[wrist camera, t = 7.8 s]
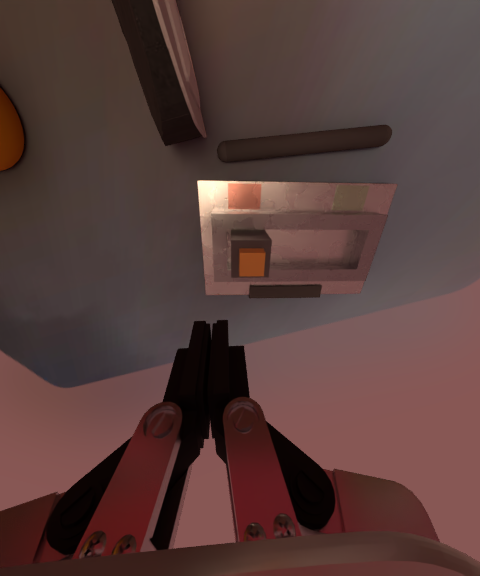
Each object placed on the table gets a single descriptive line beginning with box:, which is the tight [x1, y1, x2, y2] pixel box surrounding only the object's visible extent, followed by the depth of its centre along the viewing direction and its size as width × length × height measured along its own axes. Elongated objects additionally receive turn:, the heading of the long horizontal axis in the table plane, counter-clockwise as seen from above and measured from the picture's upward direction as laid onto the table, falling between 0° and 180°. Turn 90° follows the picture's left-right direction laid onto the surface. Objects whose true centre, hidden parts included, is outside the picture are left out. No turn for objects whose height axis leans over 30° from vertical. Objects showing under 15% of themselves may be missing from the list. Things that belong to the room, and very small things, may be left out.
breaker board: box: [198, 180, 397, 295], centre depth 25 cm, size 22×14×4 cm, turn 89°
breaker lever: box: [231, 229, 272, 278], centre depth 22 cm, size 4×4×6 cm
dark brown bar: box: [249, 285, 322, 298], centre depth 29 cm, size 10×2×2 cm, turn 89°
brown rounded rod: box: [217, 125, 392, 162], centre depth 21 cm, size 18×2×2 cm, turn 95°
